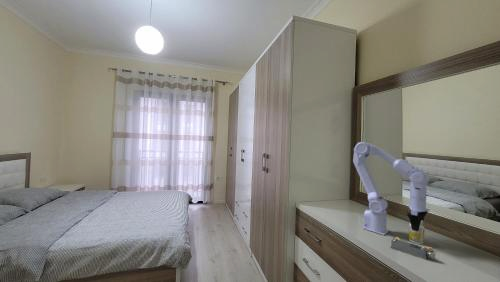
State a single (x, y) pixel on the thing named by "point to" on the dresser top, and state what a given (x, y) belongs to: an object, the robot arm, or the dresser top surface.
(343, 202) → the dresser top surface
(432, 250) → the guard rails
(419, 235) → the supplement bottle
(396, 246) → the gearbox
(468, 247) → the dresser top surface
